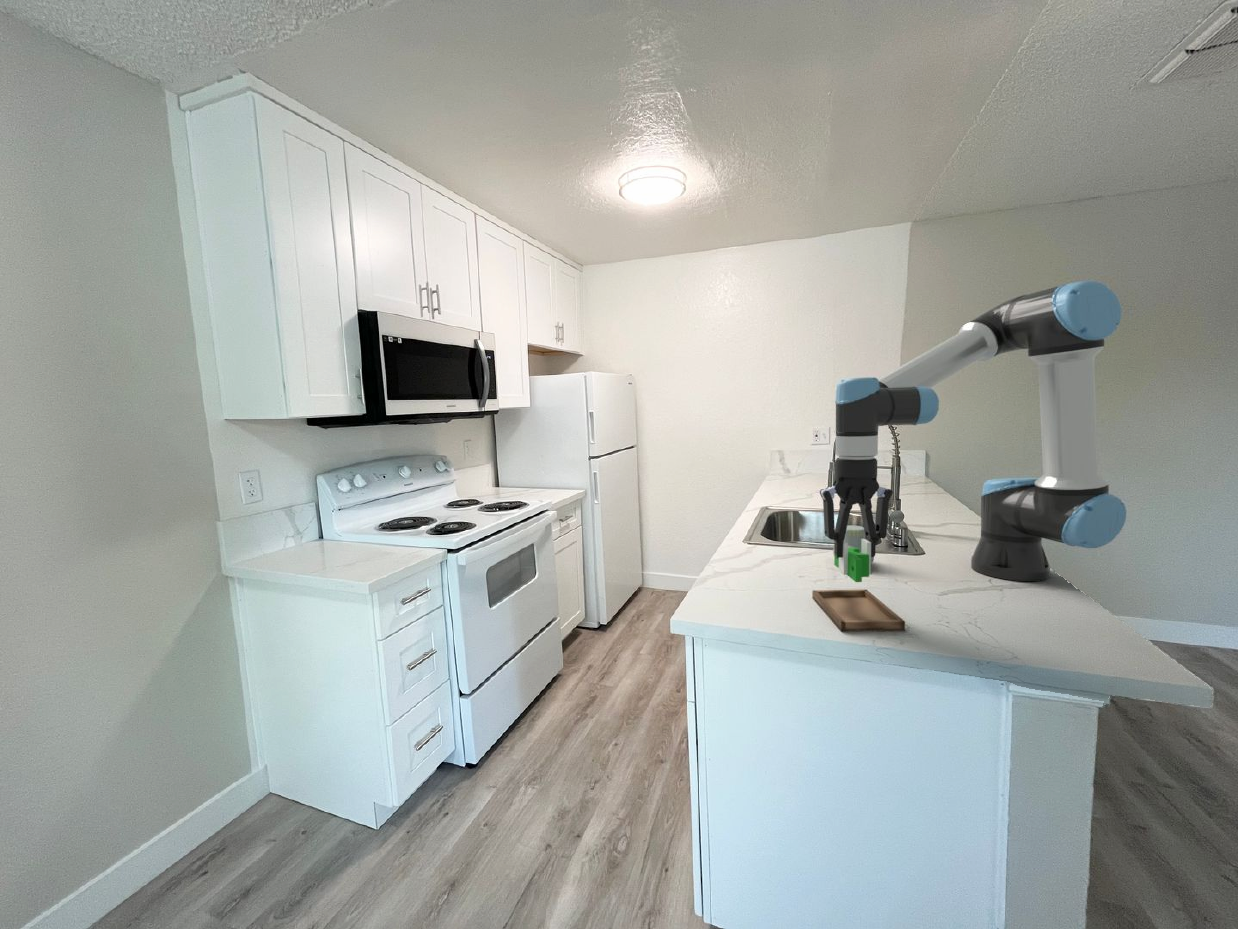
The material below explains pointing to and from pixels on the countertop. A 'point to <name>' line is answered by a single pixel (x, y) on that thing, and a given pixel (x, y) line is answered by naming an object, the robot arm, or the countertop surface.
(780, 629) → the countertop surface
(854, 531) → the air freshener
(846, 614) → the tray
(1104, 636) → the countertop surface
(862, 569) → the pipe clamp
